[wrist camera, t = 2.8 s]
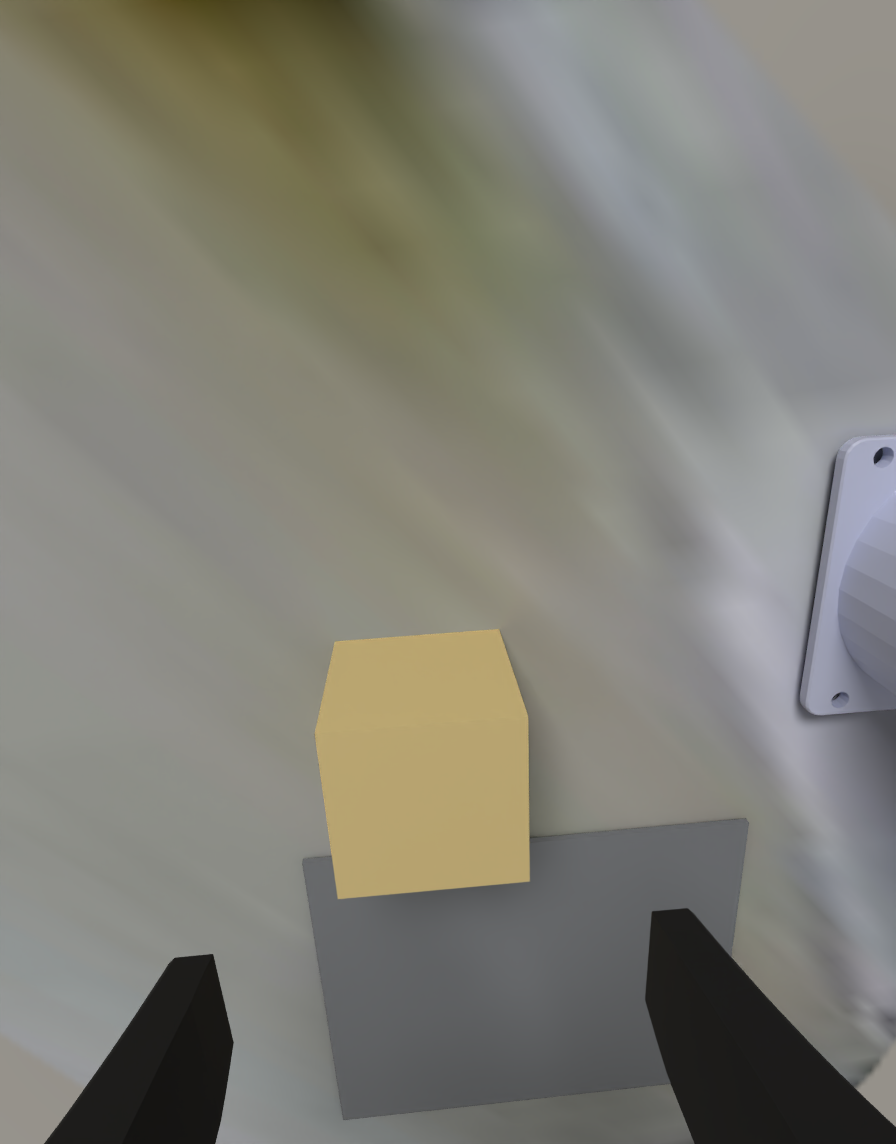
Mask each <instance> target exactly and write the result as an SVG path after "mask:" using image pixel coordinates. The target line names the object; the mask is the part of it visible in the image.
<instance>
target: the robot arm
mask: <svg viewBox="0 0 896 1144" xmlns="http://www.w3.org/2000/svg"><path fill="white" fill-rule="evenodd" d="M880 448H882V449H883V455H882V458H881V460H880V461H878V462H877V463H876V464H874V460H873V458H874V455H875V453H876V452H877V451H878V450H879V449H880ZM840 692H841V693H840ZM837 693H840V695H839V697H837V698H836V699H835V700H832V698H833V696H835V695H836V694H837ZM831 700H832V701H831ZM800 703H801V704H802V706H803V707H804V708H805V709H806V710H807V711H808V712H809V713H811V714H813V715H819V716H821V715H833V714H845V713H856V712H868V711H880V710H892V709H896V434H892V435H876V436H860V437H855V438H851V439H850V440H848V441H847V442H845V443H844V444H843V445H842V447H841V448H840V449H839V452H838V455H837V458H836V464H835V471H834V477H833V484H832V490H831V497H830V503H829V510H828V516H827V523H826V529H825V536H824V542H823V549H822V555H821V562H820V568H819V575H818V581H817V588H816V594H815V601H814V607H813V614H812V620H811V627H810V633H809V640H808V646H807V653H806V659H805V666H804V672H803V679H802V685H801V692H800ZM645 1002H646V1005H647V1009H648V1012H649V1016H650V1019H651V1023H652V1026H653V1029H654V1033H655V1036H656V1040H657V1043H658V1046H659V1050H660V1053H661V1056H662V1060H663V1063H664V1066H665V1069H666V1072H667V1075H668V1078H669V1080H670V1083H671V1085H672V1088H673V1090H674V1093H675V1095H676V1098H677V1100H678V1103H679V1105H680V1108H681V1110H682V1113H683V1115H684V1118H685V1121H686V1123H687V1126H688V1128H689V1131H690V1133H691V1136H692V1138H693V1140H694V1143H695V1144H896V1127H895V1126H894V1125H893V1124H892V1123H891V1122H890V1121H888V1120H887V1119H886V1118H885V1117H884V1116H883V1115H882V1114H881V1113H880V1112H879V1111H878V1110H877V1109H876V1108H875V1107H874V1106H873V1105H872V1104H870V1102H869V1101H867V1100H866V1099H865V1098H864V1097H863V1096H862V1095H861V1094H860V1093H859V1092H858V1091H857V1090H856V1089H855V1088H854V1087H853V1086H852V1085H851V1084H850V1083H849V1082H848V1081H847V1080H846V1079H845V1078H844V1077H843V1076H842V1075H841V1074H840V1073H839V1072H838V1071H837V1070H836V1069H835V1068H834V1067H833V1066H832V1065H831V1064H830V1063H829V1062H828V1061H827V1060H826V1059H825V1058H824V1057H823V1056H822V1055H821V1054H820V1053H819V1052H818V1051H817V1050H816V1049H815V1048H814V1047H813V1046H812V1045H811V1044H810V1043H809V1042H808V1041H807V1040H806V1038H805V1037H804V1036H803V1035H802V1034H801V1033H800V1032H799V1031H798V1030H797V1029H796V1028H795V1027H794V1026H793V1025H792V1024H791V1023H790V1022H789V1020H788V1019H787V1018H786V1017H785V1016H784V1015H783V1014H782V1013H781V1012H780V1011H779V1010H778V1009H777V1008H776V1007H775V1006H774V1005H773V1003H772V1002H771V1001H770V1000H769V999H768V998H767V997H766V996H765V995H764V994H763V992H762V991H761V990H760V989H759V988H758V987H757V986H756V985H755V984H754V983H753V981H752V980H751V979H750V978H749V977H748V976H747V975H746V973H745V972H744V971H743V970H742V969H741V968H740V967H739V966H738V964H737V963H736V962H735V961H734V960H733V959H732V958H731V956H730V955H729V954H728V953H727V952H726V951H725V950H724V948H723V947H722V946H721V945H720V944H719V943H718V941H717V940H716V939H715V938H714V937H713V935H712V934H711V933H710V932H709V931H708V930H707V928H706V927H705V926H704V925H703V924H702V923H701V921H700V920H699V919H698V918H697V917H696V915H695V914H694V913H693V912H692V911H691V910H689V909H688V908H682V909H672V910H661V911H652V914H651V927H650V940H649V953H648V967H647V980H646V993H645ZM232 1049H233V1038H232V1034H231V1030H230V1025H229V1021H228V1017H227V1012H226V1008H225V1004H224V999H223V995H222V991H221V986H220V982H219V978H218V973H217V969H216V965H215V960H214V956H213V954H209V955H199V956H188V957H178V958H174V959H173V960H172V961H171V962H170V963H169V964H168V966H167V968H166V969H165V971H164V972H163V974H162V975H161V977H160V978H159V980H158V981H157V983H156V984H155V986H154V988H153V989H152V991H151V992H150V994H149V995H148V997H147V998H146V1000H145V1001H144V1003H143V1004H142V1006H141V1007H140V1009H139V1010H138V1012H137V1013H136V1015H135V1016H134V1018H133V1019H132V1021H131V1022H130V1024H129V1025H128V1027H127V1028H126V1030H125V1031H124V1033H123V1034H122V1036H121V1037H120V1039H119V1040H118V1042H117V1043H116V1045H115V1046H114V1047H113V1049H112V1050H111V1052H110V1053H109V1055H108V1056H107V1058H106V1059H105V1060H104V1062H103V1063H102V1065H101V1066H100V1068H99V1069H98V1070H97V1072H96V1073H95V1075H94V1076H93V1077H92V1079H91V1080H90V1082H89V1083H88V1084H87V1086H86V1087H85V1089H84V1090H83V1092H82V1093H81V1094H80V1096H79V1097H78V1099H77V1100H76V1102H75V1103H74V1104H73V1106H72V1107H71V1109H70V1110H69V1111H68V1113H67V1114H66V1115H65V1117H64V1118H63V1119H62V1121H61V1122H60V1124H59V1125H58V1126H57V1128H56V1129H55V1130H54V1131H53V1133H52V1134H51V1135H50V1137H49V1138H48V1139H47V1141H46V1142H45V1143H44V1144H215V1142H216V1138H217V1134H218V1130H219V1126H220V1122H221V1117H222V1111H223V1105H224V1100H225V1094H226V1088H227V1082H228V1075H229V1069H230V1062H231V1056H232Z"/></svg>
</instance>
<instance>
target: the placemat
mask: <svg viewBox="0 0 896 1144" xmlns="http://www.w3.org/2000/svg"><path fill="white" fill-rule="evenodd" d="M748 826H749V822H748V821H747V819H746V818H745V819H734V820H723V821H712V822H701V823H690V824H679V825H668V826H657V827H646V828H635V829H624V830H613V831H602V832H592V833H581V834H570V835H559V836H548V837H537V838H529V856H530V882H519V883H509V884H498V885H487V886H476V887H465V888H454V889H443V890H433V891H422V892H411V893H400V894H389V895H378V896H367V897H357V898H346V899H338V897H337V890H336V882H335V875H334V868H333V861H332V856H329V857H318V858H307V859H303V863H302V864H303V871H304V877H305V883H306V889H307V896H308V902H309V908H310V914H311V921H312V927H313V933H314V939H315V946H316V952H317V958H318V964H319V971H320V977H321V983H322V989H323V996H324V1002H325V1008H326V1015H327V1021H328V1027H329V1033H330V1040H331V1046H332V1052H333V1058H334V1065H335V1071H336V1077H337V1083H338V1090H339V1096H340V1102H341V1108H342V1115H343V1120H349V1119H358V1118H367V1117H376V1116H385V1115H394V1114H403V1113H412V1112H421V1111H430V1110H439V1109H448V1108H457V1107H466V1106H475V1105H484V1104H493V1103H502V1102H511V1101H520V1100H529V1099H538V1098H547V1097H556V1096H565V1095H574V1094H583V1093H592V1092H601V1091H610V1090H619V1089H628V1088H637V1087H646V1086H654V1085H663V1084H671V1083H670V1080H669V1078H668V1075H667V1072H666V1069H665V1066H664V1063H663V1060H662V1056H661V1053H660V1050H659V1046H658V1043H657V1040H656V1036H655V1033H654V1029H653V1026H652V1023H651V1019H650V1016H649V1012H648V1009H647V1005H646V1002H645V993H646V980H647V967H648V953H649V940H650V927H651V914H652V911H661V910H672V909H682V908H688V909H689V910H691V911H692V912H693V913H694V914H695V915H696V917H697V918H698V919H699V920H700V921H701V923H702V924H703V925H704V926H705V927H706V928H707V930H708V931H709V932H710V933H711V934H712V935H713V937H714V938H715V939H716V940H717V941H718V943H719V944H720V945H721V946H722V947H723V948H724V950H725V951H726V952H727V953H728V954H729V955H730V956H731V953H732V946H733V939H734V931H735V924H736V916H737V909H738V901H739V894H740V886H741V879H742V871H743V864H744V856H745V849H746V841H747V834H748Z"/></svg>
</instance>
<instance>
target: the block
mask: <svg viewBox="0 0 896 1144" xmlns="http://www.w3.org/2000/svg"><path fill="white" fill-rule="evenodd" d="M315 739H316V746H317V753H318V761H319V768H320V775H321V782H322V789H323V796H324V804H325V811H326V818H327V825H328V832H329V839H330V847H331V854H332V861H333V868H334V875H335V882H336V890H337V897H338V899H346V898H357V897H367V896H378V895H389V894H400V893H411V892H422V891H433V890H443V889H454V888H465V887H476V886H487V885H498V884H509V883H519V882H530V856H529V747H528V714H527V711H526V708H525V705H524V702H523V699H522V696H521V693H520V690H519V687H518V684H517V681H516V678H515V675H514V673H513V670H512V667H511V664H510V661H509V658H508V655H507V652H506V649H505V646H504V643H503V640H502V637H501V634H500V631H499V629H494V630H481V631H468V632H455V633H441V634H428V635H415V636H402V637H388V638H375V639H362V640H349V641H335V644H334V648H333V653H332V657H331V662H330V666H329V671H328V676H327V680H326V685H325V689H324V694H323V698H322V703H321V707H320V712H319V717H318V721H317V726H316V730H315Z"/></svg>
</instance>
